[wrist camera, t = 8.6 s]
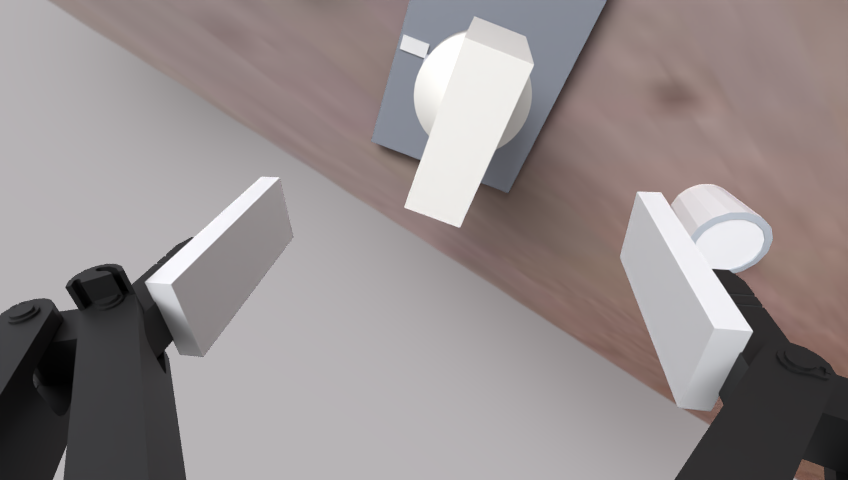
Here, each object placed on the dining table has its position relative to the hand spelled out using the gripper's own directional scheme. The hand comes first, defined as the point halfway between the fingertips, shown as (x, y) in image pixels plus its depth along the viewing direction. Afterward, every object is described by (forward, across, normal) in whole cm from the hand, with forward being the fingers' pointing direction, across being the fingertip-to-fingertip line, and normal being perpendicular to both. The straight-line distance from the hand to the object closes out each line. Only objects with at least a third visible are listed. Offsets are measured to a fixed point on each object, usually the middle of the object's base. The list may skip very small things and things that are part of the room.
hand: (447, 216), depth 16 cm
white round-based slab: (+20, 0, -1) cm, 20 cm away
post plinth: (+29, 0, 0) cm, 29 cm away
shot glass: (+29, +23, -14) cm, 40 cm away
